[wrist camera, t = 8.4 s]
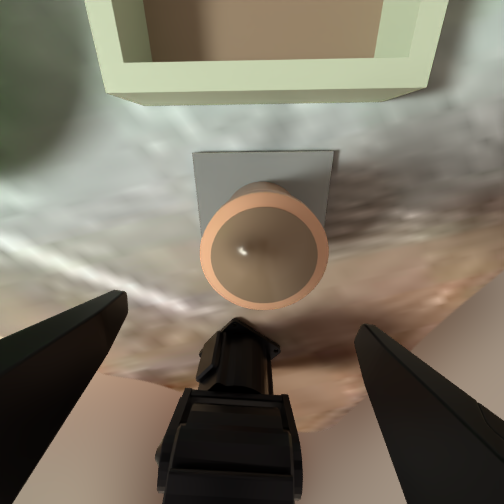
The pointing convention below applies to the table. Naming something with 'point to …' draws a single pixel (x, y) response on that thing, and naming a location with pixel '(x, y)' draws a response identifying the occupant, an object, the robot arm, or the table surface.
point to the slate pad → (262, 177)
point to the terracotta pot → (264, 248)
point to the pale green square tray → (264, 49)
